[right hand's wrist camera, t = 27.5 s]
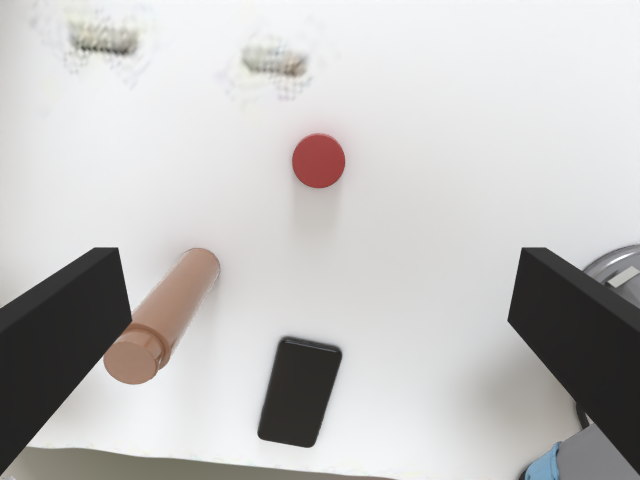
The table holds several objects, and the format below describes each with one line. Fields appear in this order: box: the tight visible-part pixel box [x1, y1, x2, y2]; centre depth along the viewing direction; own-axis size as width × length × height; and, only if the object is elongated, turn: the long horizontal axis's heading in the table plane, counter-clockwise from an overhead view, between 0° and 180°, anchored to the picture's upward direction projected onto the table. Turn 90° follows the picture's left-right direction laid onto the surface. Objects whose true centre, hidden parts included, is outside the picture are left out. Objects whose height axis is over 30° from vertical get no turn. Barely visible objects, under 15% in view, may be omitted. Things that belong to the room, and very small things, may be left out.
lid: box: [292, 133, 345, 188], centre depth 37 cm, size 5×5×2 cm
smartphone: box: [257, 338, 342, 448], centre depth 48 cm, size 8×1×16 cm
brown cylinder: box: [103, 248, 220, 384], centre depth 34 cm, size 4×4×17 cm
